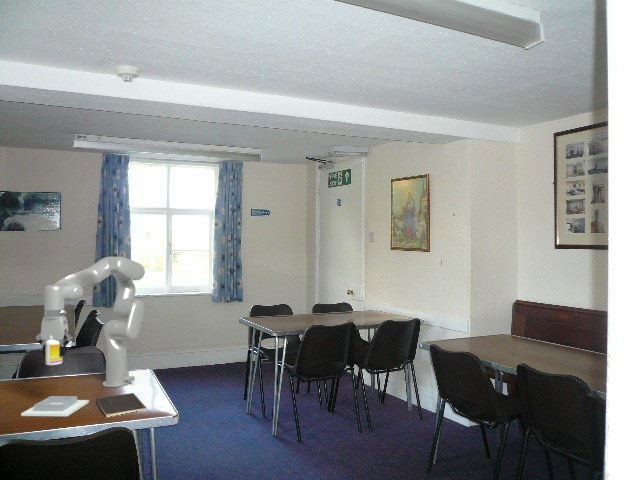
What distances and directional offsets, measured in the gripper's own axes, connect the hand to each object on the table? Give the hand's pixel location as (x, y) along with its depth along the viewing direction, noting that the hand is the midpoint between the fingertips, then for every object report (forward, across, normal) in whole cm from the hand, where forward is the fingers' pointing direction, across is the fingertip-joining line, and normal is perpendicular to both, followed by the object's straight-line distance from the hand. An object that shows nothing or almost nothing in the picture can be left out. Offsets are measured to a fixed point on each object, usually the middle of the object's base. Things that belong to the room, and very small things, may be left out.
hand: (54, 355), depth 219 cm
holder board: (+22, -3, +3) cm, 22 cm away
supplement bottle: (+4, 0, 0) cm, 4 cm away
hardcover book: (+23, -29, -2) cm, 37 cm away
